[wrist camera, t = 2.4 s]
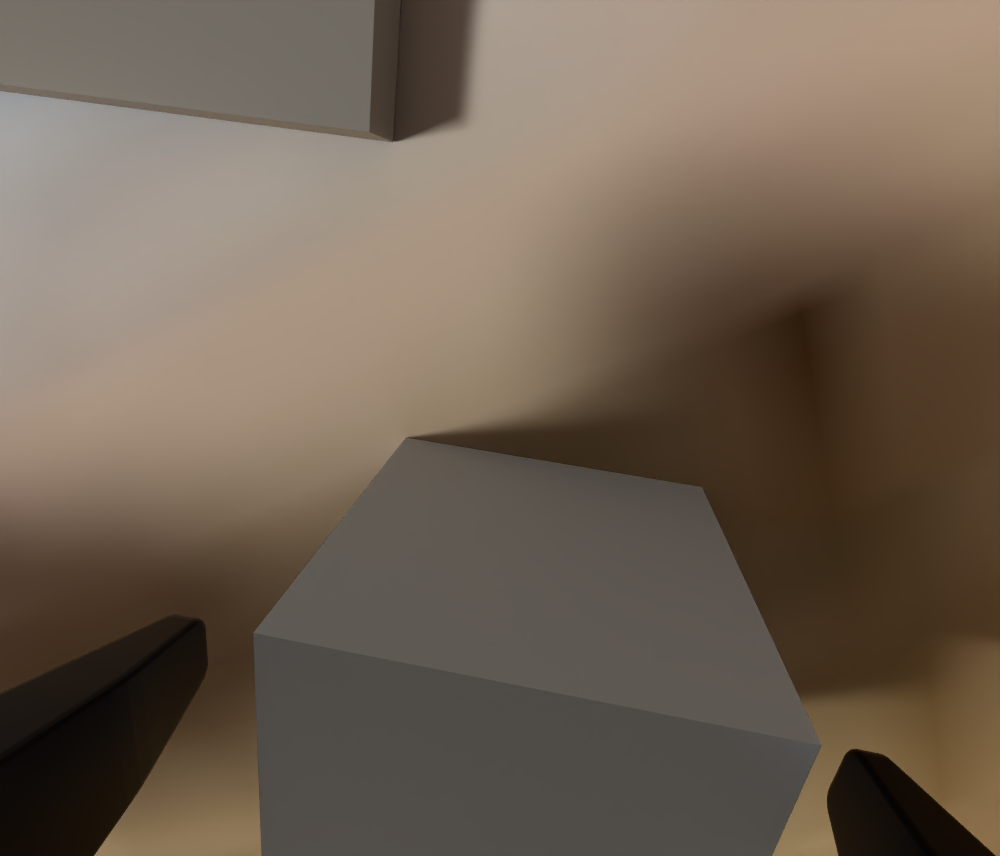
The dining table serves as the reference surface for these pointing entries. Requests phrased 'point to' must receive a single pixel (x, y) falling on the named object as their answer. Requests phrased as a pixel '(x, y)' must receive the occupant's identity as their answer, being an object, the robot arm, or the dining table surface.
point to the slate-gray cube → (523, 674)
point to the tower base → (213, 59)
